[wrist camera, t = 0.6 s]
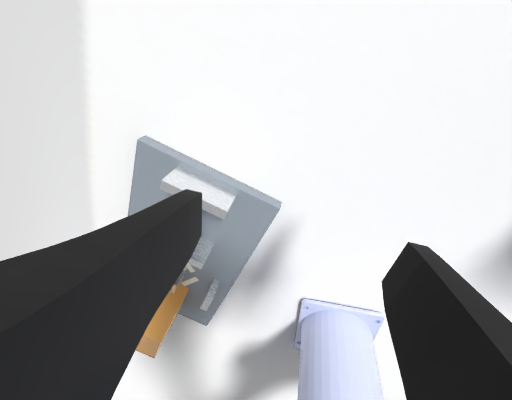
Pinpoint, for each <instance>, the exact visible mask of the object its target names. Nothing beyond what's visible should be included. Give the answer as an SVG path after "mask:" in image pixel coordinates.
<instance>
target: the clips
mask: <svg viewBox="0 0 512 400" xmlns="http://www.w3.org/2000/svg"><path fill="white" fill-rule="evenodd" d="M186 270H187V267H186V266H185V268H184V269H183V271H182V273H181V274H180V276H179V277H178V279H177V280H176V282H175V283H174V285H173V287H172V288H171V290H170V291H169V293H168V294H169V295H171V296H173V295H174V293H175V291H176V289H177V288H178V286H179V284H180V282H181V281H182V279H183V277H184V275H185V272H186ZM219 283H220V281H218V280H216V279H214V280H213V282H212V284H211V285H210V287H209V289H208V292H207V294H206V296H205V298H204V300H203V303H202V305H201V307H200V309H202V310H204V311H207V309H208V307H209V306H210V304H211V302H212V300H213V298H214V295H215V293H216V290H217V288H218V285H219Z"/></svg>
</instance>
